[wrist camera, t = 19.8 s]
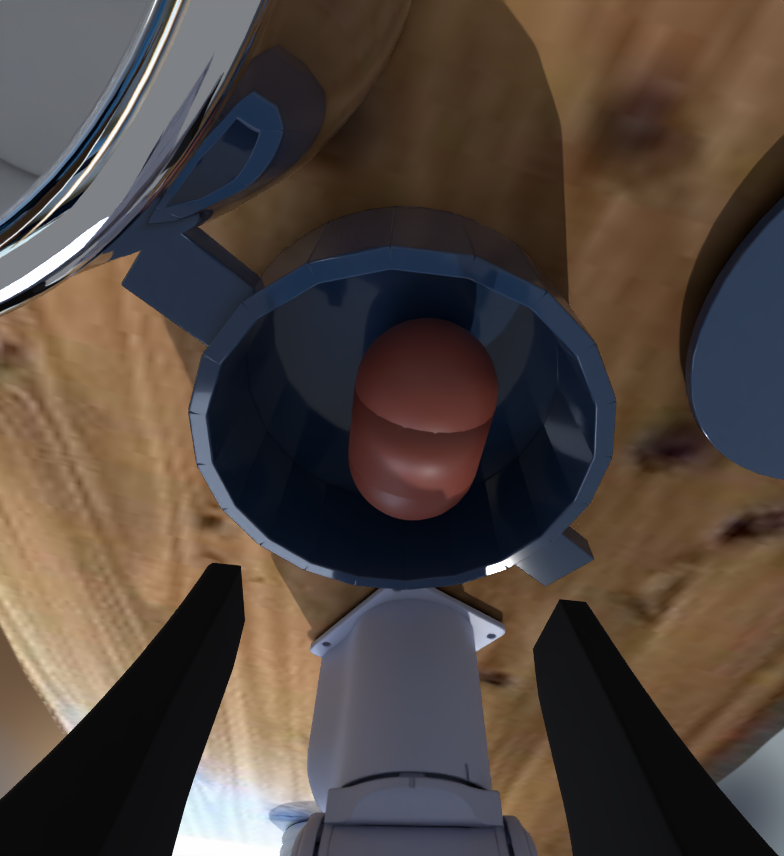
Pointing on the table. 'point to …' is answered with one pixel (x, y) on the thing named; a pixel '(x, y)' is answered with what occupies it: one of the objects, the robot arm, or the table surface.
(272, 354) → the pan
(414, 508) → the red ribbed oval
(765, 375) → the pan lid
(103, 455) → the table surface
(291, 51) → the beer glass
